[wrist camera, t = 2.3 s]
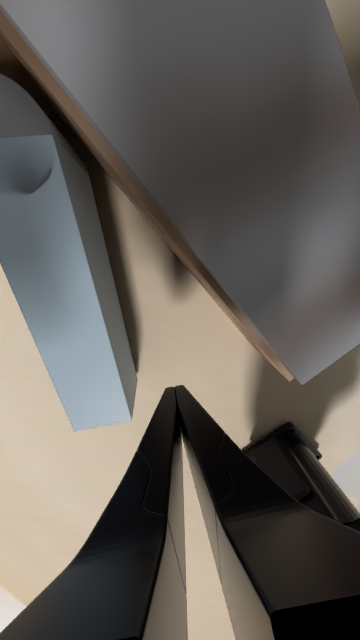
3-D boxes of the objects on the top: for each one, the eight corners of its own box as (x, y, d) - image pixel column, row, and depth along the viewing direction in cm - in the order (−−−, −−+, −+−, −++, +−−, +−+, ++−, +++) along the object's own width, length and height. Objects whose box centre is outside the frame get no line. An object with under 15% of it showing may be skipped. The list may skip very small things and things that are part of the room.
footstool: (334, 282, 13) (429, 299, 8) (212, 379, 15) (237, 436, 10) (147, -79, 7) (134, -673, 2) (-27, 154, 9) (-227, 46, 4)
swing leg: (137, 379, 13) (131, 420, 10) (94, 386, 13) (73, 431, 10) (79, 136, 9) (33, 66, 5) (10, 141, 8) (-84, 71, 5)
